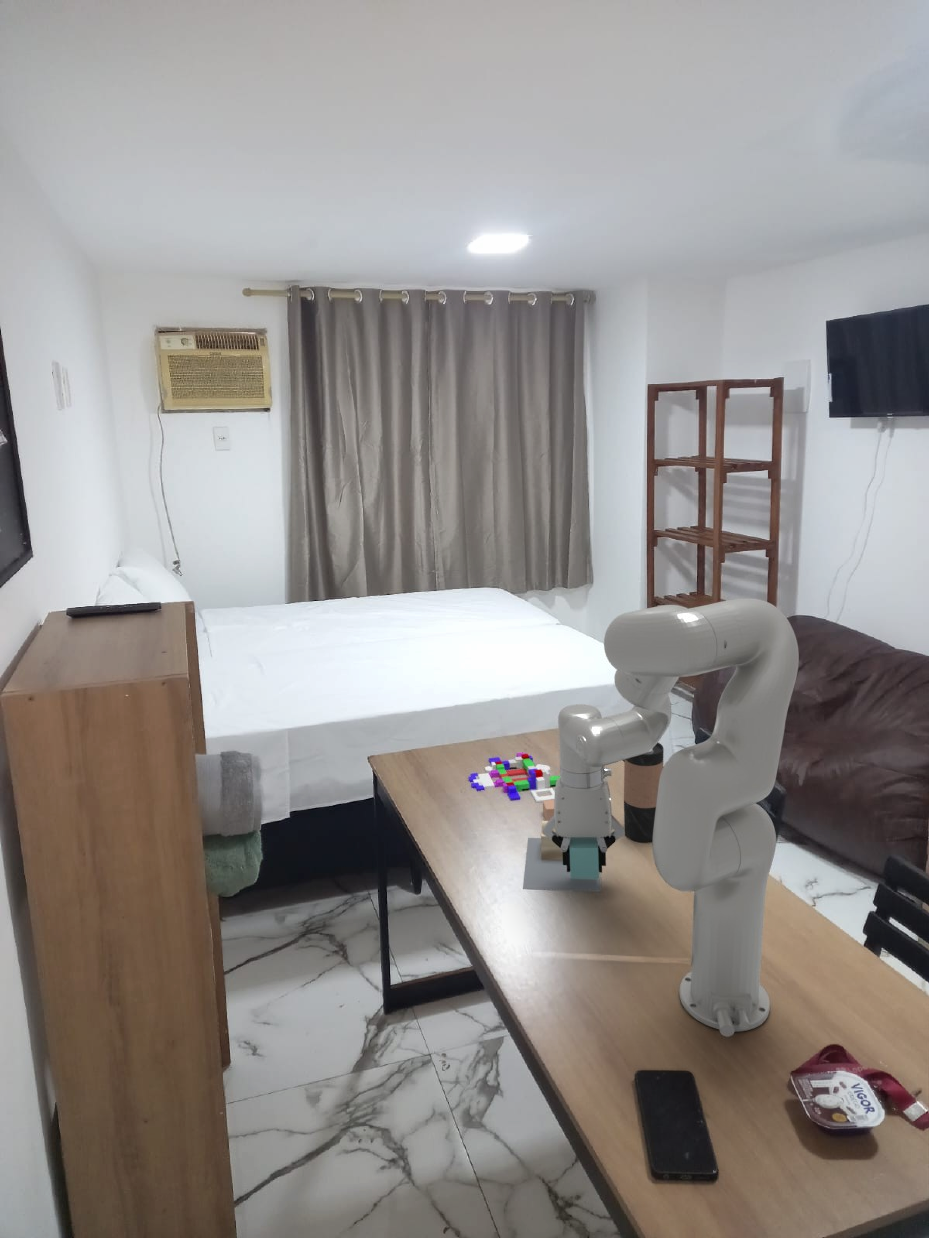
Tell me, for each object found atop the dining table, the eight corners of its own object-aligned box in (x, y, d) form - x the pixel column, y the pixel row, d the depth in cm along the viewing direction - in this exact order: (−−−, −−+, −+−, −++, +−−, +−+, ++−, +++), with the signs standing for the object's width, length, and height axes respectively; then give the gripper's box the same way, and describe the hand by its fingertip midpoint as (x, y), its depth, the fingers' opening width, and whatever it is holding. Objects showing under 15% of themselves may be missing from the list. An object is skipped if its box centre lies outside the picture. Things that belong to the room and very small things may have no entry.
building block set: (461, 765, 202) (460, 748, 201) (540, 756, 205) (540, 739, 204) (482, 812, 178) (481, 794, 177) (571, 800, 181) (571, 782, 180)
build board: (600, 896, 145) (600, 891, 145) (522, 893, 147) (522, 888, 147) (598, 844, 162) (598, 839, 162) (528, 842, 164) (528, 837, 164)
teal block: (598, 878, 144) (598, 848, 142) (570, 878, 144) (569, 847, 143) (598, 864, 148) (597, 834, 147) (570, 863, 149) (569, 834, 148)
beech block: (572, 860, 155) (572, 837, 154) (541, 859, 156) (541, 836, 154) (572, 844, 161) (572, 821, 159) (542, 843, 161) (542, 820, 160)
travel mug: (646, 852, 159) (648, 758, 154) (615, 838, 164) (616, 746, 159) (669, 837, 163) (672, 746, 158) (638, 824, 169) (640, 735, 164)
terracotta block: (543, 817, 174) (546, 826, 170) (542, 800, 173) (546, 809, 169) (561, 815, 174) (565, 825, 170) (561, 798, 173) (565, 807, 169)
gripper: (629, 766, 145) (630, 858, 149) (534, 766, 147) (538, 857, 151) (632, 783, 137) (633, 880, 141) (532, 783, 140) (536, 878, 144)
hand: (584, 867), depth 146 cm, fingers closed on teal block, 5 cm apart
